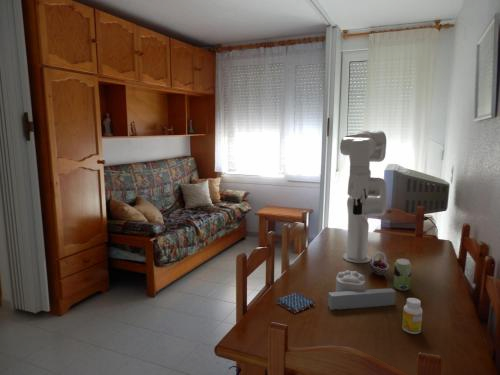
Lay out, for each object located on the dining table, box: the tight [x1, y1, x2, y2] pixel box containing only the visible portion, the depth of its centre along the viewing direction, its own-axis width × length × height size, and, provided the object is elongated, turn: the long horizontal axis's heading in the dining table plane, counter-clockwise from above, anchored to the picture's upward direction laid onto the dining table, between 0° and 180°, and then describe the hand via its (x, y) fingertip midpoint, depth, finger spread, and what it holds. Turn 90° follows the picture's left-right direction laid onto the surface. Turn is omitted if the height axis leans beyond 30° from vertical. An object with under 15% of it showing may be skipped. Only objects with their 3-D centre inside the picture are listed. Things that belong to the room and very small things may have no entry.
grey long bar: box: [327, 287, 397, 311], centre depth 130 cm, size 3×24×5 cm, turn 100°
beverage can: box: [393, 258, 412, 292], centre depth 143 cm, size 6×7×12 cm
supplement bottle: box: [401, 297, 423, 335], centre depth 114 cm, size 5×5×10 cm
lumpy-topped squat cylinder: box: [335, 269, 366, 292], centre depth 138 cm, size 10×13×9 cm
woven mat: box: [275, 292, 316, 314], centre depth 131 cm, size 10×11×2 cm
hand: (357, 214), depth 151 cm, fingers closed
